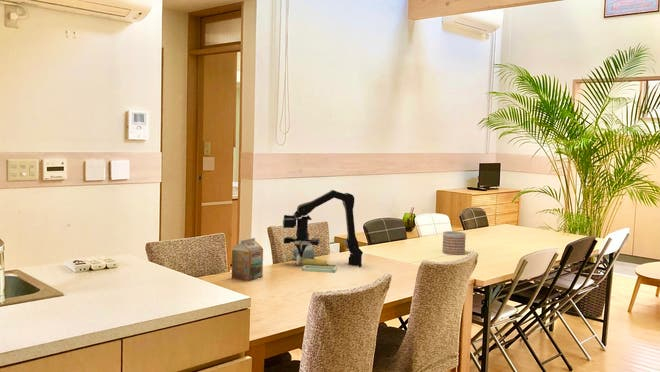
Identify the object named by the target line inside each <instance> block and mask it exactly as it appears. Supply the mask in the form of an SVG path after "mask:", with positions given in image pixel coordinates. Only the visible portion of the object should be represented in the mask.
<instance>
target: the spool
mask: <svg viewBox="0 0 660 372" xmlns="http://www.w3.org/2000/svg"><path fill="white" fill-rule="evenodd" d="M301 250H302V246H301ZM298 254H299V251H298V249H297V247H296V248H294V249H293V251H292V256H293V259H294V260H295V261H296V262H297V255H298ZM315 256H316V253H315V250H314V248H313V246H311V245H308V246H306V248H305V250H304V253H303V256H302V257H301V262H302V258H308V259H315Z"/></svg>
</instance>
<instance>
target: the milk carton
mask: <svg viewBox="0 0 660 372" xmlns="http://www.w3.org/2000/svg"><path fill="white" fill-rule="evenodd" d="M263 261H264V248H263V247H262V245H260V244H259V242H257V241H256V238H255V237H252V238H245V239H242V240H240V243H238V244H237V245H235V246H234V247H233V248H232V249H231V279H234V278H235V279H234V280H241V281H244V282H251V281H255V280H258V278H259V279H261V277H262V278H263V277H264V276H263V273H264V272H263V270H264V266H263V265H264V264H263V263H264V262H263Z"/></svg>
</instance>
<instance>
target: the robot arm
mask: <svg viewBox="0 0 660 372" xmlns="http://www.w3.org/2000/svg"><path fill="white" fill-rule="evenodd" d="M333 199H337V200H340V201H342V206H343V208H344V212H345V218H346V219H345V221H346V233H347V237H346V238H344V247H346V249H347V250H348V251H349V256H348V265H349V266H358V268H361V267H362V266H363V263H362V262H363V261H362V259H363V254H364V253H363V251H362V250H361V249H360V245H359V242H358V239H357V236H356V230H355V229H356V228H355V217H354V206H355V195H353V194H352V193H348V192H345V193H343V192H341V191H340V192H339V191H336V190H334V189H331V190H330V191H328V192H326V193H324V194H323V195H321V196H318V197H317V198H315V199H312V200H311V201H307V202H304V203H301V204H299V205H297V208H296V211H295V212H294V213H293V214H292V215H289V214H284V215H283V220H282V228H284V229H294V228H296V233H295V236H296V238H294V237H293V236H286V237H284V238H283V244H290V243H294V244H293V245H294V246H296V248H297V249H298V251H299V254H300V257H302V256H303V253H304V250H305V248H306V246H310V244H311V245H312V246H319V245H320V244H321V239H320V238H318V237H317V238H314V237H313V238H311V239H309V238H310V233H309V232H308V231H309V230H308V228H309V226H308V224H309V223H308V222H309V221H312V218H311V216H310V215H309V214H310V213H312V211H313V210H314V209H316V208H318V207H319V206H321V205H324V204H325V203H327V202H329V201H331V200H333ZM301 247H302V250H301Z"/></svg>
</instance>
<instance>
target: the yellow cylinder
mask: <svg viewBox="0 0 660 372" xmlns="http://www.w3.org/2000/svg"><path fill="white" fill-rule="evenodd" d="M301 263H302V265H316V266H327V264H328V260H327V259H326V258H325V259H323V258H321V259H320V258H313V259H308V258H302V261H301Z"/></svg>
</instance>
